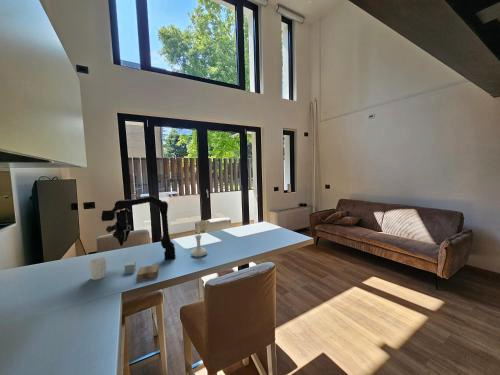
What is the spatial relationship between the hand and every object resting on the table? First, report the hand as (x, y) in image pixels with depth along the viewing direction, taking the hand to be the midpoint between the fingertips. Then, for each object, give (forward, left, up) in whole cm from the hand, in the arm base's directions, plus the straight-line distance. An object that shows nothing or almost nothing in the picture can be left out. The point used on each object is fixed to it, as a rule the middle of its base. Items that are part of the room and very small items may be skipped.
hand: (123, 243), depth 135 cm
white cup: (+10, +13, -15) cm, 22 cm away
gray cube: (-6, +12, -14) cm, 19 cm away
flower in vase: (-48, +1, -15) cm, 50 cm away
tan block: (-17, +22, -15) cm, 31 cm away
